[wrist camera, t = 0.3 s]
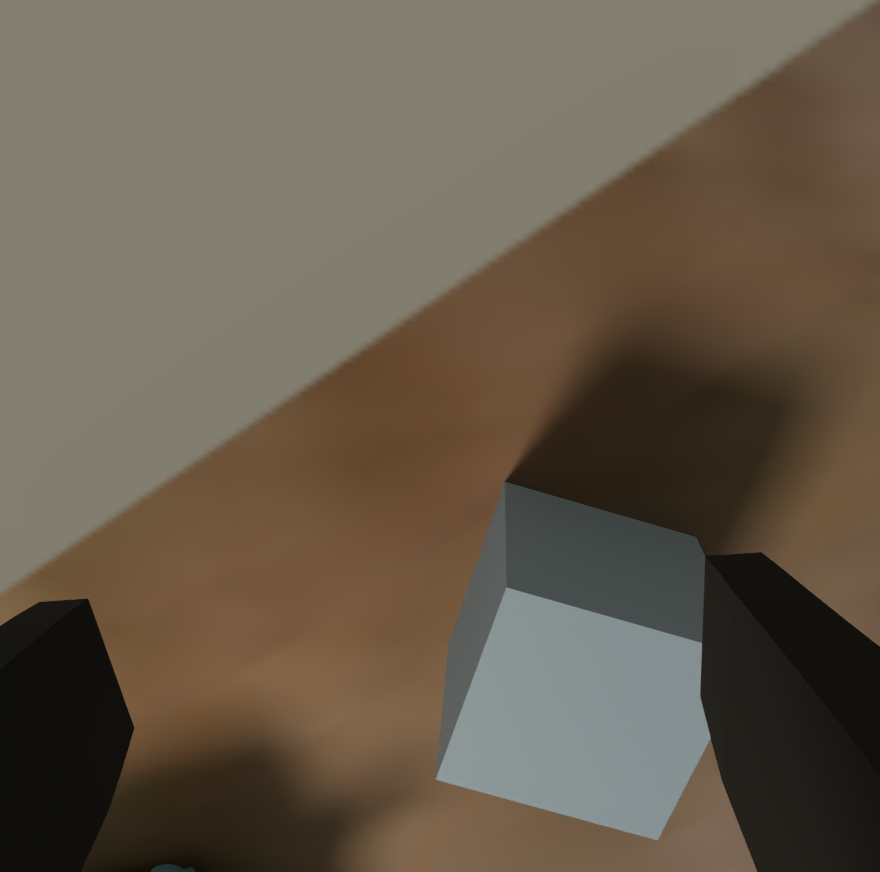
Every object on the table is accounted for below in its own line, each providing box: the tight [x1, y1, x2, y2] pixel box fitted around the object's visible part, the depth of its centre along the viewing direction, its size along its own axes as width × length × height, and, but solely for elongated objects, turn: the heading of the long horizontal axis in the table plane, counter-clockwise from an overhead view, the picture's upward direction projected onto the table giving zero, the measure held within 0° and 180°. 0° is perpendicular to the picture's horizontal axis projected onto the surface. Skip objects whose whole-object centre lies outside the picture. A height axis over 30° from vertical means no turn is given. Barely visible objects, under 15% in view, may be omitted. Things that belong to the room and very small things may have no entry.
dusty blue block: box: [436, 482, 711, 840], centre depth 19 cm, size 5×5×5 cm
